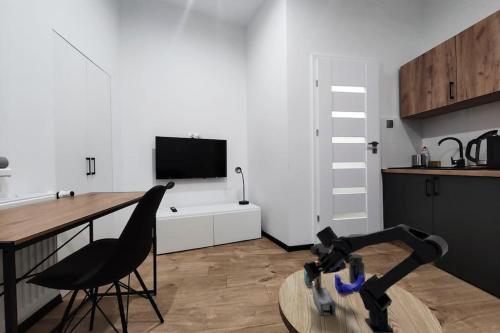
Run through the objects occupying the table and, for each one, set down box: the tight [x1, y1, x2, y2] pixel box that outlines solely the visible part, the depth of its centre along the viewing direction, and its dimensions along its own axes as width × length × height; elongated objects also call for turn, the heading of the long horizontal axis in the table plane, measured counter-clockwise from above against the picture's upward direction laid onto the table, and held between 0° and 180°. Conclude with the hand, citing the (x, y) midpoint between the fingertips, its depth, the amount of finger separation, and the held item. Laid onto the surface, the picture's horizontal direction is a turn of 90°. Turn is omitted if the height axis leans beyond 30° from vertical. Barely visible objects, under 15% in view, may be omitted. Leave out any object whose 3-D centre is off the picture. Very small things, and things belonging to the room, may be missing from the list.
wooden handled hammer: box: [311, 259, 330, 310], centre depth 99 cm, size 18×3×13 cm, turn 178°
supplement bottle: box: [348, 253, 366, 284], centre depth 114 cm, size 7×7×12 cm
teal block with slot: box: [303, 268, 314, 285], centre depth 115 cm, size 5×6×5 cm
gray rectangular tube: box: [312, 287, 337, 317], centre depth 94 cm, size 12×5×4 cm, turn 178°
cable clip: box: [334, 273, 366, 294], centre depth 106 cm, size 12×4×6 cm, turn 88°
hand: (315, 275), depth 104 cm, fingers open, 9 cm apart
